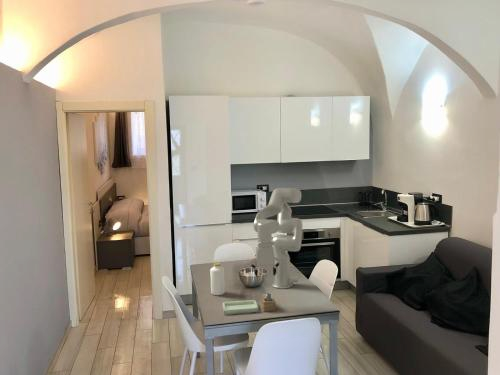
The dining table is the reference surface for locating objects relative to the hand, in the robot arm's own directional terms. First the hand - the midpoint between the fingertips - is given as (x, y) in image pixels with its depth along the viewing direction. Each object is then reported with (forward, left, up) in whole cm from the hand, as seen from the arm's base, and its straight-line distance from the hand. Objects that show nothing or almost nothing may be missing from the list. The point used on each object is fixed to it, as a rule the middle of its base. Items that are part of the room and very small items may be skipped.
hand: (265, 275), depth 246 cm
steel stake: (0, +7, -16) cm, 18 cm away
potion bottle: (+25, -23, -16) cm, 38 cm away
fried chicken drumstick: (0, +4, -16) cm, 17 cm away
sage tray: (+15, +4, -16) cm, 22 cm away
